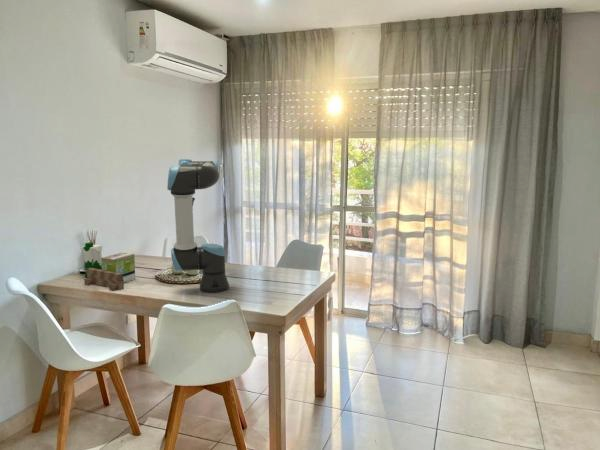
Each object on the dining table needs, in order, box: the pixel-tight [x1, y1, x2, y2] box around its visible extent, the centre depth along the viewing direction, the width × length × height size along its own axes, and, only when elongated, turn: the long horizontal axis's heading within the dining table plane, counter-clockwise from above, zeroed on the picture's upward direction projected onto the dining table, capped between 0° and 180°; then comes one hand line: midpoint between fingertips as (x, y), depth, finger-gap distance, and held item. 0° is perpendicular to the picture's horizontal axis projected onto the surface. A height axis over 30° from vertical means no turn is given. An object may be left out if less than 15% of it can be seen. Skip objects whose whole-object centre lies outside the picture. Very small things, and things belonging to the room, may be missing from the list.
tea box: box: [102, 252, 136, 284], centre depth 259 cm, size 15×10×15 cm
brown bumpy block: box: [83, 268, 125, 292], centre depth 250 cm, size 26×5×8 cm, turn 60°
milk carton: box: [81, 242, 103, 279], centre depth 269 cm, size 9×9×20 cm
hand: (185, 226), depth 277 cm, fingers closed
